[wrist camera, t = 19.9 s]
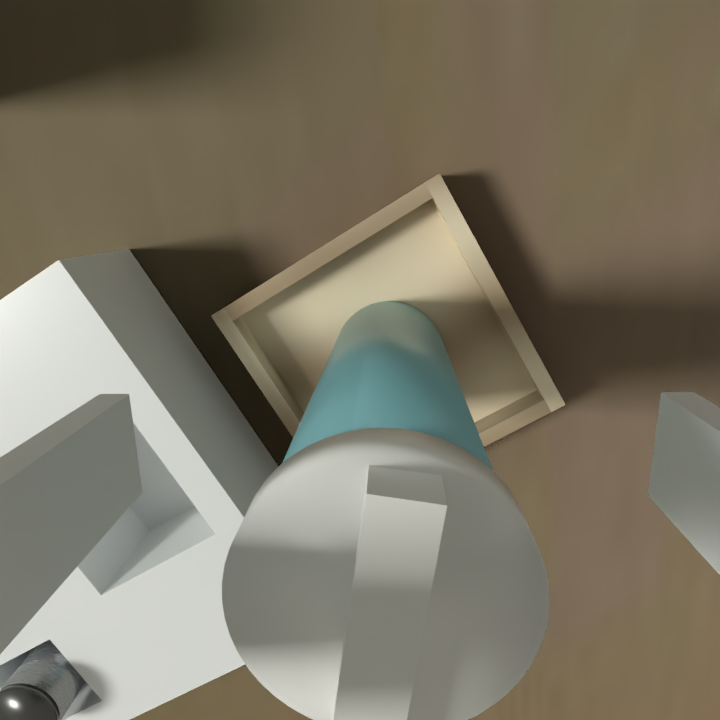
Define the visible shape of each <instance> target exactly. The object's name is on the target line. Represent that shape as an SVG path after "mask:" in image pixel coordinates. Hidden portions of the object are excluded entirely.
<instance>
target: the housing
mask: <svg viewBox="0 0 720 720" xmlns="http://www.w3.org/2000/svg"><path fill="white" fill-rule="evenodd" d="M99 394H129V396H130V404H131V411H132V418H133V426H134V433H135V440H136V448H137V455H138V462H139V470H140V477H141V484H142V493H141V494H140V495H139V497H138V498H137V499H136V500H135V501H134V502H133V503H132V505H131V506H130V507H129V508H128V509H127V510H126V511H125V513H124V514H123V515H122V516H121V517H120V518H119V519H118V521H117V522H116V523H115V524H114V525H113V526H112V527H111V529H110V530H109V531H108V532H107V533H106V534H105V535H104V537H103V538H102V539H101V540H100V541H99V542H98V543H97V545H96V546H95V547H94V548H93V549H92V550H91V551H90V553H89V554H88V555H87V556H86V557H85V558H84V559H83V561H82V562H81V563H80V564H79V565H78V566H77V567H76V569H75V570H74V571H73V572H72V573H71V574H70V575H69V577H68V578H67V579H66V580H65V581H64V582H63V583H62V585H61V586H60V587H59V588H58V589H57V590H56V591H55V593H54V594H53V595H52V596H51V597H50V598H49V599H48V601H47V602H46V603H45V604H44V605H43V606H42V607H41V609H40V610H39V611H38V612H37V613H36V614H35V615H34V617H33V618H32V619H31V620H30V621H29V622H28V623H27V625H26V626H25V627H24V628H23V629H22V630H21V631H20V633H19V634H18V635H17V636H16V637H15V638H14V639H13V640H12V642H11V643H10V644H9V645H8V646H7V647H6V648H5V650H4V651H3V652H2V653H1V654H0V689H1V688H2V687H3V686H4V684H5V683H6V682H7V681H8V680H9V678H10V677H11V676H12V675H13V673H14V672H15V671H16V670H17V668H18V667H19V666H20V665H21V664H22V662H23V661H24V660H25V659H26V657H27V656H28V655H29V654H30V652H31V651H32V650H33V649H34V648H35V647H36V646H38V645H40V644H42V643H43V642H45V641H47V640H49V639H50V640H51V642H52V643H53V644H54V645H55V646H56V647H57V649H58V650H59V651H60V652H61V653H62V654H63V656H64V657H65V658H66V659H67V660H68V661H69V663H70V664H71V665H72V666H73V667H74V668H75V670H76V671H77V672H78V673H79V674H80V675H81V677H82V678H83V679H84V680H85V681H86V682H85V684H84V685H83V687H82V689H81V690H80V692H79V693H78V695H77V696H76V698H75V699H74V701H73V703H72V704H71V706H70V707H69V709H68V710H67V712H66V713H65V715H64V716H63V718H62V720H130V719H132V718H134V717H136V716H138V715H140V714H142V713H144V712H146V711H148V710H151V709H153V708H155V707H157V706H159V705H161V704H163V703H165V702H167V701H169V700H171V699H174V698H176V697H178V696H180V695H182V694H184V693H186V692H188V691H190V690H192V689H195V688H197V687H199V686H201V685H203V684H205V683H207V682H209V681H211V680H213V679H215V678H218V677H220V676H222V675H224V674H226V673H228V672H230V671H232V670H234V669H236V668H238V667H241V666H243V665H245V663H244V661H243V660H242V658H241V657H240V655H239V653H238V652H237V650H236V648H235V645H234V643H233V641H232V639H231V637H230V634H229V631H228V628H227V624H226V621H225V617H224V611H223V604H222V578H223V572H224V565H225V561H226V558H227V555H228V552H229V549H230V546H231V544H232V542H233V540H234V538H235V536H236V533H237V531H238V529H239V527H240V525H241V523H242V521H243V519H244V517H245V515H246V513H247V511H248V509H249V507H250V505H251V503H252V501H253V499H254V497H255V495H256V493H257V492H258V490H259V489H260V487H261V486H262V485H263V483H264V482H265V480H266V479H267V478H268V477H269V476H270V475H271V474H272V473H273V472H274V471H275V469H276V468H277V467H278V465H277V463H276V462H275V461H274V459H273V458H272V456H271V455H270V453H269V452H268V450H267V449H266V447H265V446H264V445H263V443H262V442H261V440H260V439H259V437H258V436H257V434H256V433H255V431H254V430H253V429H252V427H251V426H250V424H249V423H248V421H247V420H246V418H245V417H244V415H243V414H242V413H241V411H240V410H239V408H238V407H237V405H236V404H235V402H234V401H233V399H232V398H231V397H230V395H229V394H228V392H227V391H226V389H225V388H224V386H223V385H222V383H221V382H220V381H219V379H218V378H217V376H216V375H215V373H214V372H213V370H212V369H211V367H210V366H209V365H208V363H207V362H206V360H205V359H204V357H203V356H202V354H201V353H200V351H199V350H198V349H197V347H196V346H195V344H194V343H193V341H192V340H191V338H190V337H189V335H188V334H187V333H186V331H185V330H184V328H183V327H182V325H181V324H180V322H179V321H178V319H177V318H176V317H175V315H174V314H173V312H172V311H171V309H170V308H169V306H168V305H167V303H166V302H165V301H164V299H163V298H162V296H161V295H160V293H159V292H158V290H157V289H156V287H155V286H154V285H153V283H152V282H151V280H150V279H149V277H148V276H147V274H146V273H145V271H144V270H143V269H142V267H141V266H140V264H139V263H138V261H137V260H136V258H135V257H134V255H133V254H132V253H131V251H130V250H129V249H127V250H121V251H114V252H108V253H101V254H95V255H88V256H81V257H75V258H68V259H62V260H58V261H57V262H55V263H54V264H52V265H51V266H49V267H48V268H46V269H45V270H43V271H42V272H41V273H39V274H38V275H36V276H35V277H33V278H32V279H30V280H29V281H27V282H26V283H25V284H23V285H22V286H20V287H19V288H17V289H16V290H14V291H13V292H11V293H10V294H9V295H7V296H6V297H4V298H3V299H1V300H0V457H2V456H3V455H5V454H6V453H8V452H9V451H11V450H13V449H14V448H16V447H17V446H19V445H20V444H22V443H24V442H25V441H27V440H28V439H30V438H31V437H33V436H35V435H36V434H38V433H39V432H41V431H42V430H44V429H46V428H47V427H49V426H50V425H52V424H53V423H55V422H57V421H58V420H60V419H61V418H63V417H64V416H66V415H68V414H69V413H71V412H72V411H74V410H75V409H77V408H79V407H80V406H82V405H83V404H85V403H86V402H88V401H90V400H91V399H93V398H94V397H96V396H97V395H99Z"/></svg>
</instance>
